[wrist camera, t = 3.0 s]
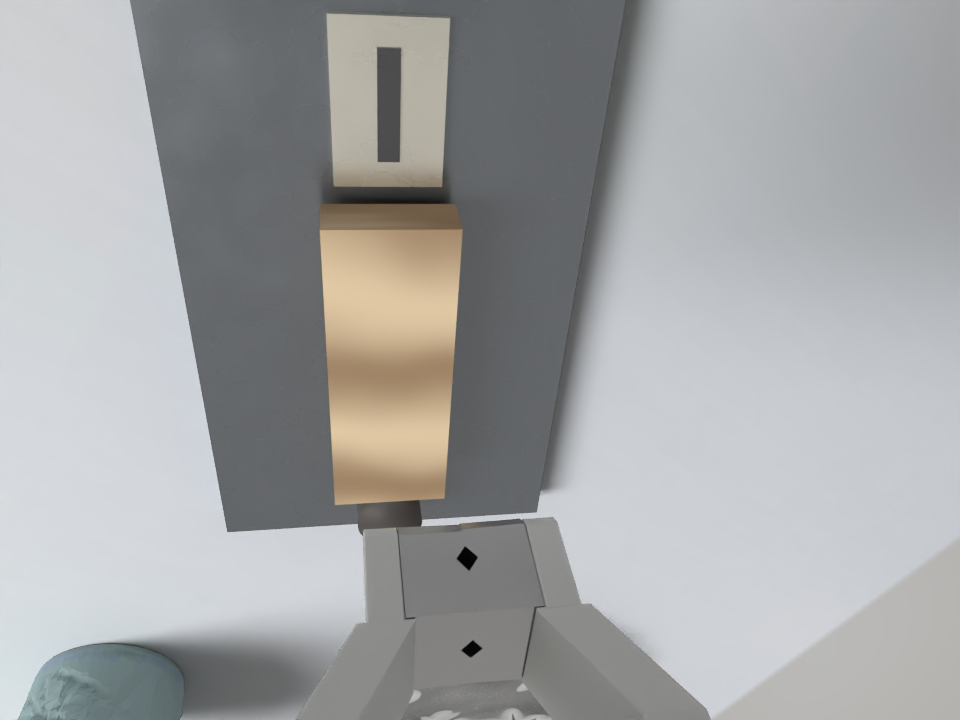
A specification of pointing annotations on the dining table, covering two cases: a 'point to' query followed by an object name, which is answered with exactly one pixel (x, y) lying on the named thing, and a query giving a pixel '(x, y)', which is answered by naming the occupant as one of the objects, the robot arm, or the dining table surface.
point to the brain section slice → (476, 702)
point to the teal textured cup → (106, 686)
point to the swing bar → (390, 353)
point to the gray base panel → (375, 180)
